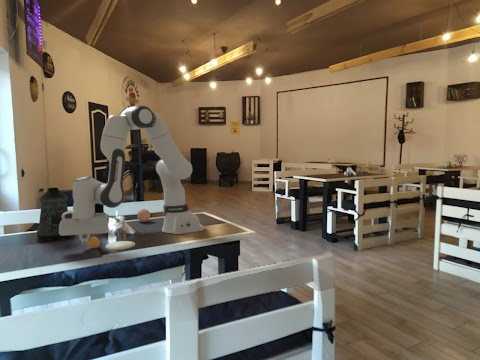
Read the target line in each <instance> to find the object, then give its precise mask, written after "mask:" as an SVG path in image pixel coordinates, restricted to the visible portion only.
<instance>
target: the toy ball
mask: <svg viewBox="0 0 480 360" xmlns="http://www.w3.org/2000/svg"><path fill="white" fill-rule="evenodd" d="M136 215H137V220H138V222H142V223H146V222H148V221H149V220H150V218H151V212H150V211H149V210H148V209H146V208H141V209H139V210H138V211H137V214H136Z"/></svg>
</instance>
